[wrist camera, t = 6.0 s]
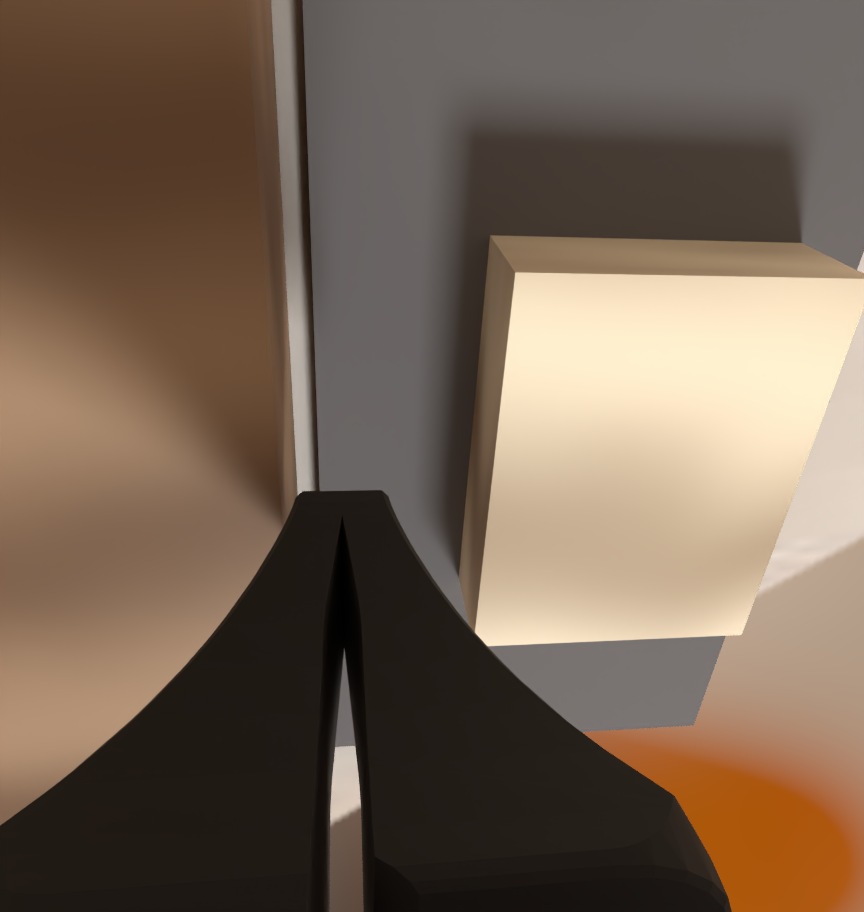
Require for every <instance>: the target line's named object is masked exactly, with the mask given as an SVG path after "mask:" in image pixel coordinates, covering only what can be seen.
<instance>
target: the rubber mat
mask: <svg viewBox="0 0 864 912" xmlns="http://www.w3.org/2000/svg"><path fill="white" fill-rule="evenodd" d="M303 28H304V57H305V86H306V114H307V143H308V172H309V200H310V229H311V258H312V286H313V315H314V344H315V372H316V401H317V430H318V458H319V487H320V491H356V490H382V491H383V492H384V493H385V494H387V495H388V496H389V500H390V502H391V505H392V507H393V510H394V512H395V514H396V516H397V519H398V521H399V523H400V525H401V527H402V528H403V530H404V532H405V534H406V536H407V538H408V539H409V541H410V543H411V545H412V546H413V548H414V550H415V551H416V553H417V554H418V556H419V558H420V559H421V561H422V562H423V564H424V565H425V567H426V568H427V570H428V571H429V573H430V575H431V576H432V578H433V579H434V580H435V582H436V583H437V585H438V586H439V587H440V589H441V590H442V592H443V593H444V594H445V596H446V597H447V598H448V600H449V601H450V602H451V604H452V605H453V606H454V608H455V609H456V610H457V611H458V613H459V614H460V615H461V616H462V618H463V619H464V620H465V621H466V623H467V624H468V620H467V615H466V610H465V605H464V601H463V596H462V591H461V586H460V582H459V569H460V558H461V547H462V536H463V525H464V514H465V504H466V493H467V482H468V471H469V460H470V449H471V438H472V427H473V416H474V405H475V394H476V383H477V373H478V362H479V351H480V340H481V329H482V318H483V307H484V296H485V285H486V274H487V263H488V252H489V242H490V235H497V236H538V237H579V238H620V239H661V240H702V241H743V242H784V243H803V244H805V245H807V246H809V247H811V248H813V249H815V250H817V251H819V252H821V253H823V254H825V255H827V256H829V257H831V258H833V259H835V260H837V261H839V262H841V263H843V264H845V265H847V266H849V267H851V268H853V269H855V270H857V268H858V265H859V262H860V260H861V257H862V254H863V251H864V0H303ZM468 625H469V624H468ZM724 639H725V636H707V637H684V638H662V639H639V640H617V641H594V642H572V643H549V644H527V645H504V646H488V647H489V649H490V650H491V651H492V652H493V653H494V654H495V655H496V656H497V657H498V658H499V659H500V660H501V661H502V662H503V663H504V664H505V665H506V666H507V667H508V668H509V669H510V670H511V671H512V672H513V673H514V674H515V675H516V676H517V677H518V678H519V679H520V680H521V681H522V682H523V683H524V684H525V685H527V686H528V687H529V688H530V689H531V690H532V691H533V692H535V693H536V694H537V695H538V696H539V697H540V698H541V699H543V700H544V701H545V702H546V703H547V704H548V705H549V706H551V707H552V708H553V709H554V710H555V711H556V712H557V713H559V714H560V715H561V716H562V717H563V718H564V719H565V720H567V721H568V722H569V723H570V724H572V725H573V726H574V727H575V728H577V729H578V730H579V731H581V732H590V731H606V730H622V729H639V728H657V727H673V726H690V725H694V722H695V719H696V717H697V714H698V711H699V708H700V706H701V702H702V700H703V697H704V694H705V692H706V689H707V686H708V683H709V681H710V678H711V675H712V672H713V669H714V666H715V664H716V661H717V658H718V655H719V652H720V650H721V647H722V644H723V641H724ZM339 746H355V738H354V729H353V720H352V712H351V703H350V694H349V685H348V676H347V668H346V659H345V650H344V658H343V668H342V679H341V689H340V700H339V710H338V720H337V731H336V741H335V747H339Z"/></svg>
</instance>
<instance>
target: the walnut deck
mask: <svg viewBox="0 0 864 912" xmlns="http://www.w3.org/2000/svg"><path fill="white" fill-rule="evenodd" d="M297 496H298V495H297V476H296V458H295V439H294V421H293V402H292V384H291V365H290V347H289V328H288V310H287V291H286V273H285V254H284V236H283V217H282V199H281V180H280V162H279V143H278V125H277V106H276V88H275V69H274V51H273V32H272V14H271V0H0V825H2V824H3V823H4V822H6V821H7V820H8V819H10V818H11V817H12V816H14V815H15V814H16V813H18V812H19V811H21V810H22V809H23V808H25V807H26V806H27V805H29V804H30V803H31V802H33V801H34V800H35V799H37V798H38V797H40V796H41V795H42V794H44V793H45V792H46V791H48V790H49V789H50V788H52V787H53V786H54V785H56V784H57V783H58V782H59V781H61V780H62V779H63V778H64V777H66V776H67V775H68V774H69V773H71V772H72V771H73V770H74V769H75V768H77V767H78V766H79V765H80V764H81V763H82V762H83V761H85V760H86V759H87V758H88V757H89V756H90V755H92V754H93V753H94V752H95V751H96V750H97V749H98V748H100V747H101V746H102V745H103V744H104V743H105V742H106V741H108V740H109V739H110V738H111V737H112V736H113V735H115V734H116V733H117V732H118V731H119V730H120V729H121V728H123V727H124V726H125V725H126V724H127V723H128V722H129V721H130V720H132V719H133V718H134V717H135V716H136V715H137V714H138V713H139V712H140V711H141V710H142V709H143V708H144V707H145V706H146V705H147V704H148V703H149V702H150V701H151V700H152V699H153V698H154V697H155V696H156V695H157V694H158V693H159V692H160V691H161V690H162V689H163V688H164V687H165V686H166V685H167V684H168V683H169V682H170V681H171V680H172V679H173V678H174V677H175V676H176V675H177V674H178V672H179V671H180V670H181V669H182V668H183V667H184V666H185V665H186V664H187V663H188V662H189V661H190V659H191V658H192V657H193V656H194V655H195V654H196V652H197V651H198V650H199V649H200V648H201V647H202V646H203V644H204V643H205V642H206V641H207V640H208V638H209V637H210V636H211V635H212V634H213V632H214V631H215V630H216V629H217V627H218V626H219V625H220V623H221V622H222V621H223V620H224V618H225V617H226V616H227V614H228V613H229V612H230V610H231V609H232V607H233V606H234V605H235V603H236V602H237V600H238V599H239V598H240V596H241V595H242V593H243V592H244V591H245V589H246V588H247V586H248V585H249V584H250V582H251V581H252V579H253V578H254V576H255V574H256V573H257V571H258V570H259V568H260V566H261V565H262V563H263V561H264V560H265V558H266V556H267V555H268V553H269V551H270V550H271V548H272V547H273V545H274V543H275V541H276V539H277V538H278V536H279V534H280V532H281V530H282V528H283V526H284V524H285V522H286V520H287V518H288V516H289V514H290V511H291V509H292V507H293V504H294V501H295V498H296V497H297Z"/></svg>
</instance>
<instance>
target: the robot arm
mask: <svg viewBox="0 0 864 912" xmlns="http://www.w3.org/2000/svg"><path fill="white" fill-rule="evenodd" d="M344 650H345V659H346V668H347V676H348V685H349V694H350V703H351V712H352V720H353V729H354V738H355V746H356V755H357V764H358V773H359V784H360V797H361V816H362V817H361V819H362V861H363V903H364V912H732V911H731V908H730V903H729V899H728V896H727V894H726V892H725V889H724V887H723V885H722V883H721V880H720V878H719V876H718V873H717V871H716V869H715V867H714V865H713V862H712V860H711V858H710V856H709V854H708V853H707V851H706V849H705V847H704V846H703V844H702V842H701V840H700V839H699V837H698V836H697V834H696V832H695V830H694V828H693V827H692V825H691V823H690V822H689V820H688V818H687V816H686V815H685V813H684V811H683V810H682V808H681V806H680V805H679V803H678V801H677V799H676V798H675V796H674V795H672V794H671V793H669V792H668V791H666V790H665V789H663V788H662V787H660V786H659V785H657V784H656V783H654V782H653V781H651V780H650V779H648V778H647V777H645V776H644V775H642V774H641V773H639V772H638V771H636V770H635V769H633V768H632V767H630V766H629V765H627V764H626V763H624V762H623V761H621V760H619V759H618V758H616V757H615V756H614V755H612V754H610V753H609V752H607V751H606V750H604V749H603V748H602V747H600V746H599V745H598V744H596V743H595V742H594V741H592V740H591V739H590V738H588V737H587V736H586V735H585V734H583V733H582V732H581V731H579V730H578V729H577V728H575V727H574V726H573V725H572V724H570V723H569V722H568V721H567V720H565V719H564V718H563V717H562V716H561V715H560V714H559V713H557V712H556V711H555V710H554V709H553V708H552V707H551V706H549V705H548V704H547V703H546V702H545V701H544V700H543V699H541V698H540V697H539V696H538V695H537V694H536V693H535V692H533V691H532V690H531V689H530V688H529V687H528V686H527V685H525V684H524V683H523V682H522V681H521V680H520V679H519V678H518V677H517V676H516V675H515V674H514V673H513V672H512V671H511V670H510V669H509V668H508V667H507V666H506V665H505V664H504V663H503V662H502V661H501V660H500V659H499V658H498V657H497V656H496V655H495V654H494V653H493V652H492V651H491V650H490V649H489V647H488V646H487V645H486V644H485V643H484V642H483V641H482V640H481V639H480V638H479V637H478V635H477V634H476V633H475V632H474V631H473V630H472V628H471V627H470V626H469V625H468V624H467V623H466V621H465V620H464V619H463V618H462V616H461V615H460V614H459V613H458V611H457V610H456V609H455V608H454V606H453V605H452V604H451V602H450V601H449V600H448V598H447V597H446V596H445V594H444V593H443V592H442V590H441V589H440V587H439V586H438V585H437V583H436V582H435V580H434V579H433V578H432V576H431V575H430V573H429V571H428V570H427V568H426V567H425V565H424V564H423V562H422V561H421V559H420V558H419V556H418V554H417V553H416V551H415V550H414V548H413V546H412V545H411V543H410V541H409V539H408V538H407V536H406V534H405V532H404V530H403V528H402V527H401V525H400V523H399V521H398V519H397V516H396V514H395V512H394V510H393V507H392V505H391V502H390V500H389V496H388V495H387V494H385V493H384V492H383V491H382V490H356V491H303V492H302V493H300V494H299V495H298V496H297V497H296V498H295V501H294V504H293V507H292V509H291V511H290V514H289V516H288V518H287V520H286V522H285V524H284V526H283V528H282V530H281V532H280V534H279V536H278V538H277V539H276V541H275V543H274V545H273V547H272V548H271V550H270V551H269V553H268V555H267V556H266V558H265V560H264V561H263V563H262V565H261V566H260V568H259V570H258V571H257V573H256V574H255V576H254V578H253V579H252V581H251V582H250V584H249V585H248V586H247V588H246V589H245V591H244V592H243V593H242V595H241V596H240V598H239V599H238V600H237V602H236V603H235V605H234V606H233V607H232V609H231V610H230V612H229V613H228V614H227V616H226V617H225V618H224V620H223V621H222V622H221V623H220V625H219V626H218V627H217V629H216V630H215V631H214V632H213V634H212V635H211V636H210V637H209V638H208V640H207V641H206V642H205V643H204V644H203V646H202V647H201V648H200V649H199V650H198V651H197V652H196V654H195V655H194V656H193V657H192V658H191V659H190V661H189V662H188V663H187V664H186V665H185V666H184V667H183V668H182V669H181V670H180V671H179V672H178V674H177V675H176V676H175V677H174V678H173V679H172V680H171V681H170V682H169V683H168V684H167V685H166V686H165V687H164V688H163V689H162V690H161V691H160V692H159V693H158V694H157V695H156V696H155V697H154V698H153V699H152V700H151V701H150V702H149V703H148V704H147V705H146V706H145V707H144V708H143V709H142V710H141V711H140V712H139V713H138V714H137V715H136V716H135V717H134V718H133V719H132V720H130V721H129V722H128V723H127V724H126V725H125V726H124V727H123V728H121V729H120V730H119V731H118V732H117V733H116V734H115V735H113V736H112V737H111V738H110V739H109V740H108V741H106V742H105V743H104V744H103V745H102V746H101V747H100V748H98V749H97V750H96V751H95V752H94V753H93V754H92V755H90V756H89V757H88V758H87V759H86V760H85V761H83V762H82V763H81V764H80V765H79V766H78V767H77V768H75V769H74V770H73V771H72V772H71V773H69V774H68V775H67V776H66V777H64V778H63V779H62V780H61V781H59V782H58V783H57V784H56V785H54V786H53V787H52V788H50V789H49V790H48V791H46V792H45V793H44V794H42V795H41V796H40V797H38V798H37V799H35V800H34V801H33V802H31V803H30V804H29V805H27V806H26V807H25V808H23V809H22V810H21V811H19V812H18V813H16V814H15V815H14V816H12V817H11V818H10V819H8V820H7V821H6V822H4V823H3V824H2V825H0V912H330V910H329V909H330V906H329V905H330V901H329V900H330V803H331V785H332V772H333V762H334V751H335V741H336V731H337V720H338V710H339V700H340V689H341V679H342V668H343V658H344Z"/></svg>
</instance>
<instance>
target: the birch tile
mask: <svg viewBox="0 0 864 912" xmlns="http://www.w3.org/2000/svg"><path fill="white" fill-rule="evenodd" d="M863 309H864V274H863V273H861V272H859V271H857V270H855V269H853V268H851V267H849V266H847V265H845V264H843V263H841V262H839V261H837V260H835V259H833V258H831V257H829V256H827V255H825V254H823V253H821V252H819V251H817V250H815V249H813V248H811V247H809V246H807V245H805V244H803V243H784V242H743V241H702V240H661V239H620V238H579V237H538V236H497V235H490V242H489V252H488V263H487V274H486V285H485V296H484V307H483V318H482V329H481V340H480V351H479V362H478V373H477V383H476V394H475V405H474V416H473V427H472V438H471V449H470V460H469V471H468V482H467V493H466V504H465V514H464V525H463V536H462V547H461V558H460V569H459V582H460V586H461V591H462V596H463V601H464V605H465V610H466V615H467V620H468V624H469V626H470V627H471V628H472V630H473V631H474V632H475V633H476V634H477V635H478V637H479V638H480V639H481V640H482V641H483V642H484V643H485V644H486V645H487V646H504V645H527V644H549V643H572V642H594V641H617V640H639V639H662V638H684V637H707V636H728V635H742V632H743V629H744V627H745V624H746V621H747V618H748V616H749V613H750V611H751V608H752V605H753V603H754V600H755V597H756V595H757V592H758V589H759V587H760V584H761V581H762V579H763V576H764V573H765V571H766V568H767V565H768V563H769V560H770V557H771V555H772V552H773V549H774V547H775V544H776V541H777V539H778V536H779V533H780V531H781V528H782V525H783V523H784V520H785V517H786V515H787V512H788V509H789V507H790V504H791V501H792V499H793V496H794V493H795V491H796V488H797V485H798V483H799V480H800V477H801V475H802V472H803V469H804V466H805V464H806V461H807V458H808V456H809V453H810V450H811V448H812V445H813V442H814V440H815V437H816V434H817V432H818V429H819V426H820V424H821V421H822V418H823V416H824V413H825V410H826V408H827V405H828V402H829V400H830V397H831V394H832V392H833V389H834V386H835V384H836V381H837V378H838V376H839V373H840V370H841V368H842V365H843V362H844V360H845V357H846V354H847V352H848V349H849V346H850V344H851V341H852V338H853V336H854V333H855V330H856V328H857V325H858V322H859V320H860V317H861V314H862V311H863Z"/></svg>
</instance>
